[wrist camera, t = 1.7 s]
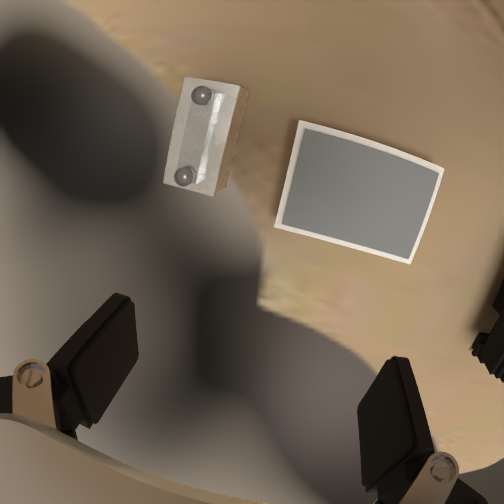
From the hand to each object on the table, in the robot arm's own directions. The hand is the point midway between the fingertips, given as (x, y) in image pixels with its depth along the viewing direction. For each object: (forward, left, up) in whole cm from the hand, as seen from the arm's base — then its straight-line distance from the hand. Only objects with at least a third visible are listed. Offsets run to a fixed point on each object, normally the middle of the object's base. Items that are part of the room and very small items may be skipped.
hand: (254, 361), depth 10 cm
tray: (-3, +6, -22) cm, 23 cm away
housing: (-5, -9, -22) cm, 24 cm away
